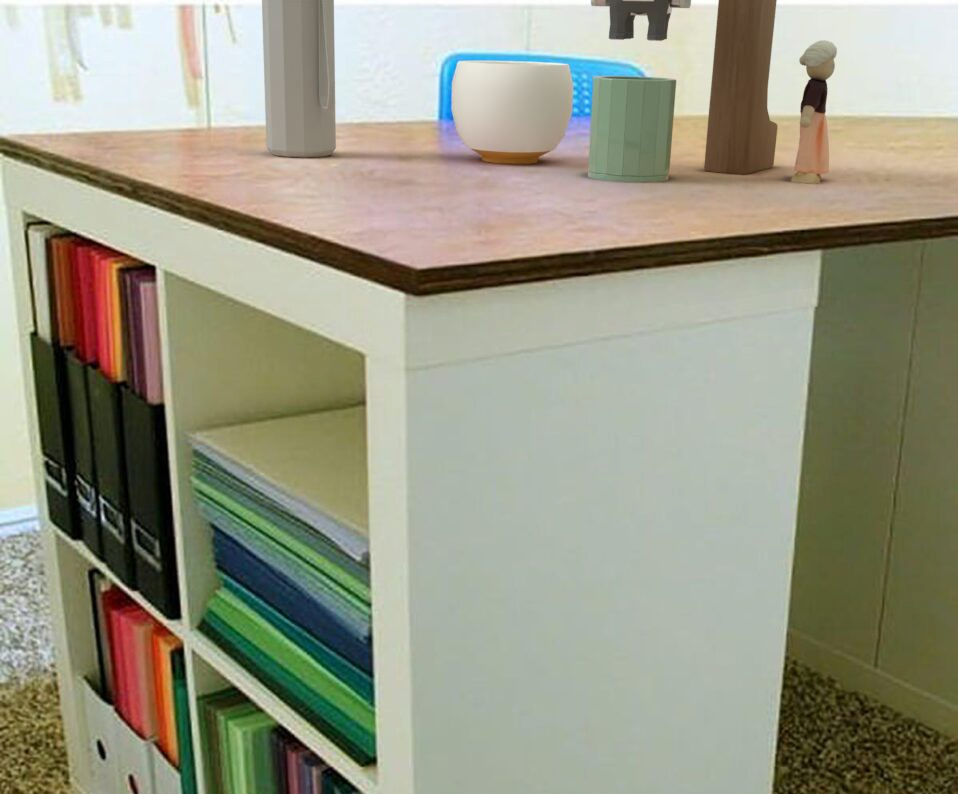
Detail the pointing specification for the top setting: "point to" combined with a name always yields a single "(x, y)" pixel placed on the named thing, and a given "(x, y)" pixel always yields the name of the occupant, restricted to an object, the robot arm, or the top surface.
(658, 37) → the giant panda
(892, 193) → the top surface
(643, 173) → the green cup
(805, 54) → the grandmother figurine
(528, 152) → the cup
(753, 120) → the wooden block
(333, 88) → the water bottle
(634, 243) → the top surface
